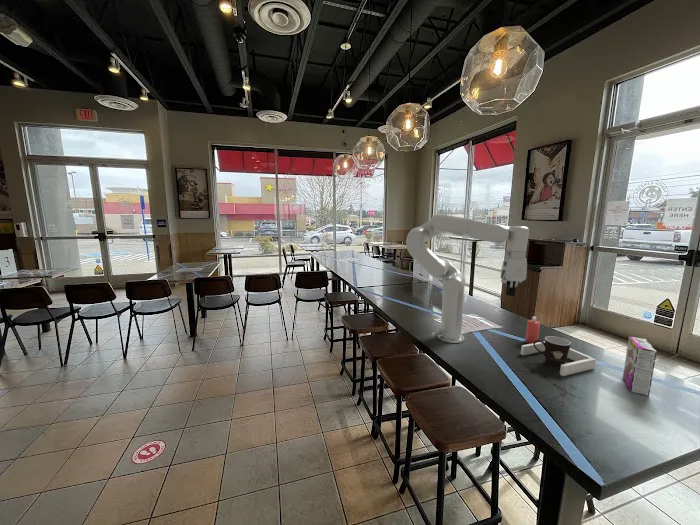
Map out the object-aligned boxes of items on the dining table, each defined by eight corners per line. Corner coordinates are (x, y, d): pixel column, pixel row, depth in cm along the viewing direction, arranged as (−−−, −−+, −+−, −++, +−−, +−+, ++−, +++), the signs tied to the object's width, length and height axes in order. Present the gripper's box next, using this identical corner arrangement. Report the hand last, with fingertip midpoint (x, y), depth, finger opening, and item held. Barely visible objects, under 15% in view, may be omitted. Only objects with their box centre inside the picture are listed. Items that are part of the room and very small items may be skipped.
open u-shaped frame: (562, 376, 110) (564, 366, 109) (520, 354, 127) (521, 345, 126) (594, 368, 115) (595, 359, 114) (549, 348, 132) (550, 340, 132)
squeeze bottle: (532, 344, 136) (535, 319, 134) (523, 340, 141) (525, 315, 139) (540, 343, 138) (543, 318, 135) (530, 339, 142) (533, 314, 140)
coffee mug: (571, 364, 118) (574, 341, 116) (563, 371, 113) (566, 347, 111) (539, 353, 127) (541, 332, 126) (530, 359, 122) (533, 337, 120)
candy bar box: (621, 377, 109) (628, 335, 107) (639, 381, 107) (647, 338, 104) (629, 392, 100) (637, 347, 97) (649, 397, 97) (658, 351, 95)
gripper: (508, 256, 121) (502, 298, 124) (536, 256, 125) (530, 297, 128) (494, 253, 128) (489, 293, 131) (522, 253, 132) (516, 292, 135)
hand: (510, 295), depth 130 cm, fingers closed
